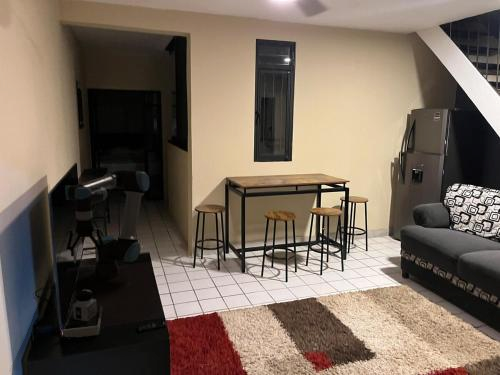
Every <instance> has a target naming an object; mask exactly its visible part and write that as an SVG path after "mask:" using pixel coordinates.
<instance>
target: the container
mask: <svg viewBox="0 0 500 375" xmlns="http://www.w3.org/2000/svg"><path fill="white" fill-rule="evenodd" d="M97 306H98V305H97V299H96V298H93V294H92V291H91V290H90V289H82V290H79V291H78V292H77V293H76V302H74V303H73V304H72V309H73V312H72V315H73V316H72V317H73V320H78V321H83V322H89V321H90V320H91V319H92V318H93V317H94V316H96V315H97Z"/></svg>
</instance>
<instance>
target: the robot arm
mask: <svg viewBox="0 0 500 375" xmlns="http://www.w3.org/2000/svg"><path fill="white" fill-rule="evenodd" d="M64 186H65V195H66V199H65V200H69V201H74V204H75V218H76V219H75V224H76V225H75V226H76V227H75V229H72V228H71V229H70V230H69V238H68V241H67V245H66V250H69V251H70V256H71V257H73V264H76V262H77V249H76V246H77V244H78V242H79V240H80V239H81V238H89V239H90V240H91V241H92V243H93V245H94V250H95V251H94V252H95V253H94V254H95V264H94V268H93V271H92V274H93V277H94V278H96V279H99V280H101V279H102V280H105V279H112V278H115V277H116V276H119V275H120V273H121V272H120V267H119V264H118V262H117V261H123V262H134V261H136V260H137V258H139V255H140V253H141V248H142V246H141V243H139V242H138V240H139V239H138V237H137V230H138V223H139V215H140V207H141V200H142V196H144V195H145V192H147V191H148V190H149V188H150V177H149V174H147V172H145V171H141V170H130V169H129V170H128V169H120V170H115V171H110V172H107V173H105V174H104V175H103V176H101V177H98V178H95V179H91V180H88V181H84V182H82V183H78V184H75V185H72V184H70V185H64ZM113 189H120V190H121V189H122V190H124V191H123V192H124V194H125V195H126V198H125V204H124V210H123V217H122V224H121V231H120V234H119V236H117V238H116V236H115V235H104V236H101V232H100V231H101V228H100V227H97V228H96V227H95V228H94V219H93V205H94V204H97V203H100V202H103V201H105V200H106V199H107V197H108V191H107V190H113ZM93 232H94V233H95V234H96V236H97V238H96V237H95V236H94V234H93ZM75 233H76V234H77V237H76V238H75V240H74V242H73V244H72V241H73V237H74V234H75ZM71 244H72V246H71Z"/></svg>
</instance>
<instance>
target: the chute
mask: <svg viewBox="0 0 500 375" xmlns="http://www.w3.org/2000/svg"><path fill="white" fill-rule="evenodd" d="M99 307H100V308H99V312H98V320H97V325H90V326H81V327H75V328H74V327H73V328H68V329H64V328H63V329H62V330H63V335H64V336H65V337H76V338H83V337H84V336H85V337H93V336H99V335H100V328H101V321H102V315H103V305H101V306H99ZM69 312H70V314H69V313H68V315H69V319H70V317H71V318H72V316H71V315H73V308H70V309H69ZM70 320H71V319H70Z"/></svg>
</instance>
